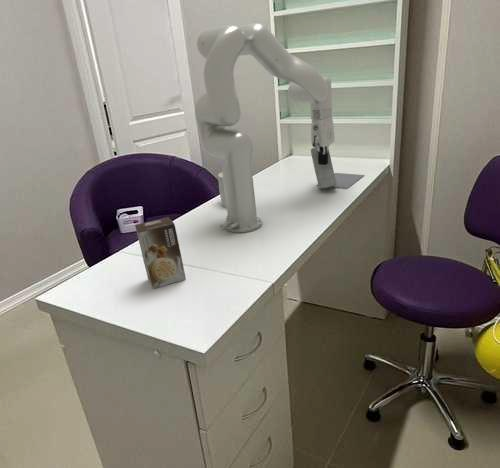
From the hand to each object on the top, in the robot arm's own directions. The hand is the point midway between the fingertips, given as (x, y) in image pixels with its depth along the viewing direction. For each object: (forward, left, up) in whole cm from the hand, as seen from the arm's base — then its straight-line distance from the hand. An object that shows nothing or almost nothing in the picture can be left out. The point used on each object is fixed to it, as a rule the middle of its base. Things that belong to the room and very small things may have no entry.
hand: (323, 163), depth 159 cm
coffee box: (-76, +9, -12) cm, 78 cm away
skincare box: (+3, 0, -10) cm, 11 cm away
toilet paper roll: (-20, +27, -12) cm, 36 cm away
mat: (+16, 0, -11) cm, 19 cm away
